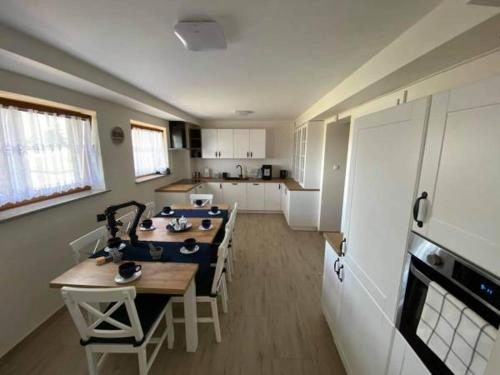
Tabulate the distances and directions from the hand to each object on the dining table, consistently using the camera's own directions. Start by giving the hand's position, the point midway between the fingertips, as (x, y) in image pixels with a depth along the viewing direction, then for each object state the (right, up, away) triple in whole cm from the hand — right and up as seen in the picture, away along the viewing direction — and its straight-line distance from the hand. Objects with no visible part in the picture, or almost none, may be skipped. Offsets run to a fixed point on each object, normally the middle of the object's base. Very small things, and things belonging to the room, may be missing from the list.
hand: (113, 236), depth 182 cm
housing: (+10, -15, -13) cm, 22 cm away
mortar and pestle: (+42, -15, -10) cm, 46 cm away
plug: (+7, -15, -15) cm, 23 cm away
